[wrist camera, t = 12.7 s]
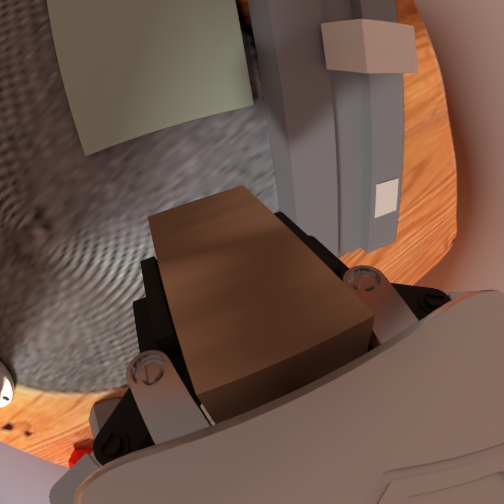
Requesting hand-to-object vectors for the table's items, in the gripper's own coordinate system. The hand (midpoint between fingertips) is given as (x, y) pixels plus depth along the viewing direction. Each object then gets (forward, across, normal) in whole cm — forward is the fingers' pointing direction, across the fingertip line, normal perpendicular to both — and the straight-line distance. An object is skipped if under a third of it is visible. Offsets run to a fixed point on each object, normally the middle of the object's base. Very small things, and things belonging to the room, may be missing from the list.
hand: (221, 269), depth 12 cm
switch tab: (+8, -12, -7) cm, 16 cm away
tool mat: (+10, 0, -10) cm, 15 cm away
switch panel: (+10, -12, -2) cm, 16 cm away
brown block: (+2, 0, 0) cm, 2 cm away
